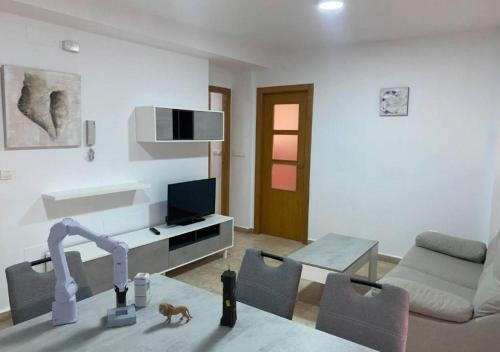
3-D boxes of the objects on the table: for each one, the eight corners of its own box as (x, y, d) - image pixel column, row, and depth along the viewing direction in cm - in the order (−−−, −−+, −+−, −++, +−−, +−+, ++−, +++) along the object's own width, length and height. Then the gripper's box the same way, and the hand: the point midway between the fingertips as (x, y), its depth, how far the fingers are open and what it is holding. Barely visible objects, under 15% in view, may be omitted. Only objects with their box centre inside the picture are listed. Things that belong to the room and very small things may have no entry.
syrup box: (146, 307, 180) (146, 277, 178) (134, 306, 180) (133, 276, 178) (150, 301, 186) (150, 272, 184) (138, 301, 186) (137, 272, 184)
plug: (116, 308, 165) (116, 294, 164) (116, 304, 168) (115, 291, 168) (126, 306, 166) (126, 293, 165) (125, 302, 170) (125, 289, 169)
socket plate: (107, 327, 161) (107, 320, 160) (107, 315, 171) (107, 308, 171) (136, 323, 165) (136, 316, 164) (134, 311, 175) (134, 305, 175)
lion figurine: (159, 326, 163) (159, 306, 161) (157, 320, 167) (157, 301, 166) (193, 321, 168) (193, 301, 166) (191, 315, 173) (191, 296, 171)
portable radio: (233, 329, 162) (234, 272, 159) (219, 327, 163) (220, 270, 160) (237, 320, 169) (238, 265, 166) (224, 318, 170) (225, 264, 167)
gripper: (131, 275, 160) (132, 306, 162) (129, 264, 174) (129, 293, 175) (113, 278, 158) (114, 309, 159) (112, 266, 171) (113, 295, 173)
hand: (121, 301), depth 167 cm, fingers closed on plug, 4 cm apart
